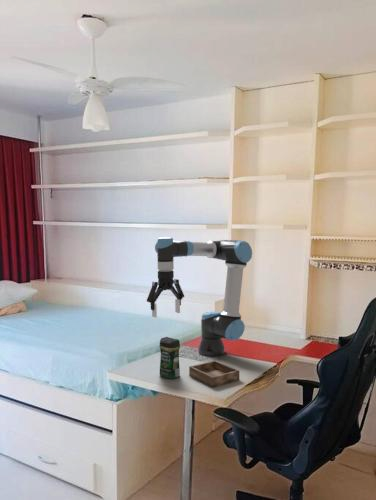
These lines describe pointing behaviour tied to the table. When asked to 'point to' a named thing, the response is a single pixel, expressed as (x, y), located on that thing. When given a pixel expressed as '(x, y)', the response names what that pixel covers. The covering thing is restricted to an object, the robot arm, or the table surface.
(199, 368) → the walnut tray
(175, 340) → the coffee jar
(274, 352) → the table surface
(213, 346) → the robot arm
